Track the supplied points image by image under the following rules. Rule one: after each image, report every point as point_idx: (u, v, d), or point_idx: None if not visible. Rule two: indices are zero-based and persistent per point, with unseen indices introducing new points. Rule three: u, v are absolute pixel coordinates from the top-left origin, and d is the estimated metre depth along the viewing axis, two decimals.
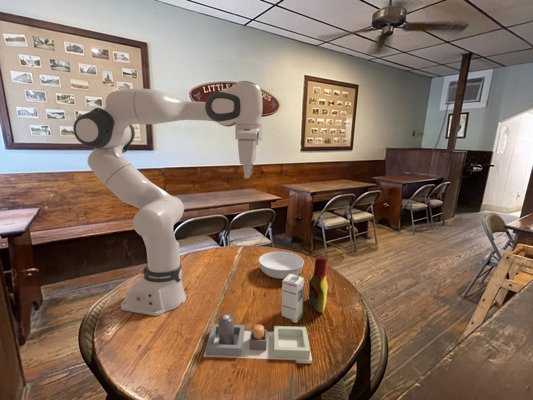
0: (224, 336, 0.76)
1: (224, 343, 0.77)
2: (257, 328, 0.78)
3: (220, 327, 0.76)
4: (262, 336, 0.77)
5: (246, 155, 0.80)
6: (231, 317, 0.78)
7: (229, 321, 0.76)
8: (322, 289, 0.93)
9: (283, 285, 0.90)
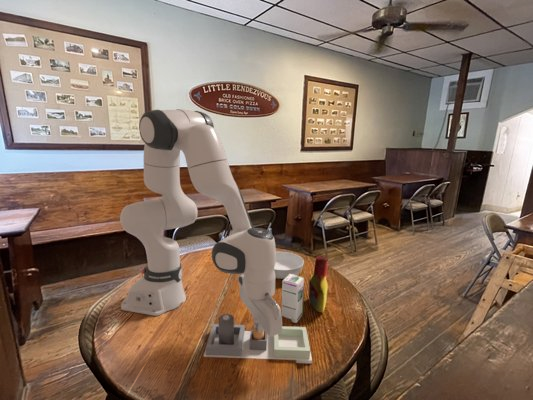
0: (224, 336, 0.76)
1: (224, 343, 0.77)
2: None
3: (220, 327, 0.76)
4: (262, 337, 0.77)
5: None
6: (231, 317, 0.78)
7: (229, 321, 0.76)
8: (322, 289, 0.93)
9: (283, 285, 0.90)
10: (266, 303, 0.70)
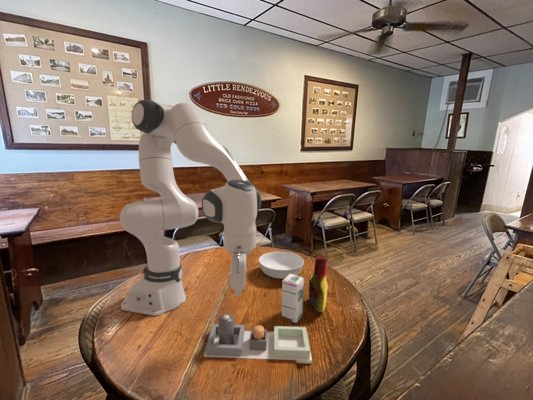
0: (224, 336, 0.76)
1: (224, 343, 0.77)
2: (257, 329, 0.78)
3: (220, 327, 0.76)
4: (262, 337, 0.77)
5: None
6: (231, 317, 0.78)
7: (229, 321, 0.76)
8: (322, 289, 0.93)
9: (283, 285, 0.90)
10: (234, 255, 0.68)
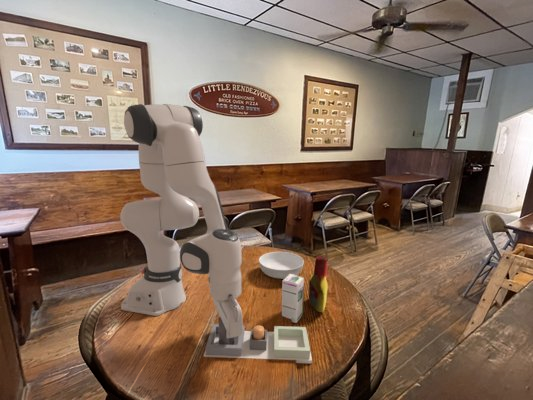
0: (224, 336, 0.76)
1: (224, 343, 0.77)
2: (257, 329, 0.78)
3: (220, 327, 0.76)
4: (262, 337, 0.77)
5: None
6: None
7: None
8: (322, 289, 0.93)
9: (283, 285, 0.90)
10: (228, 304, 0.70)
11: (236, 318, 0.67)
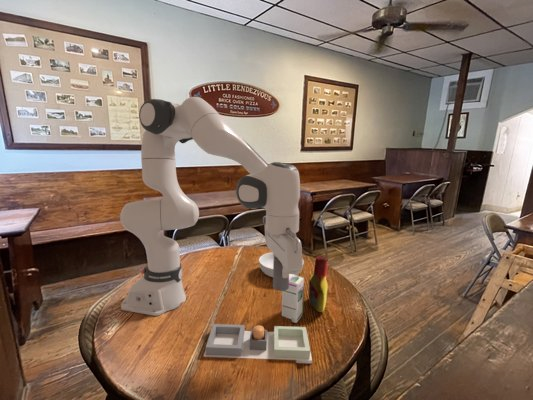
0: (279, 277, 0.72)
1: (279, 285, 0.72)
2: (257, 329, 0.78)
3: (275, 267, 0.72)
4: (262, 337, 0.77)
5: None
6: None
7: None
8: (322, 289, 0.93)
9: None
10: (286, 237, 0.66)
11: (296, 248, 0.62)
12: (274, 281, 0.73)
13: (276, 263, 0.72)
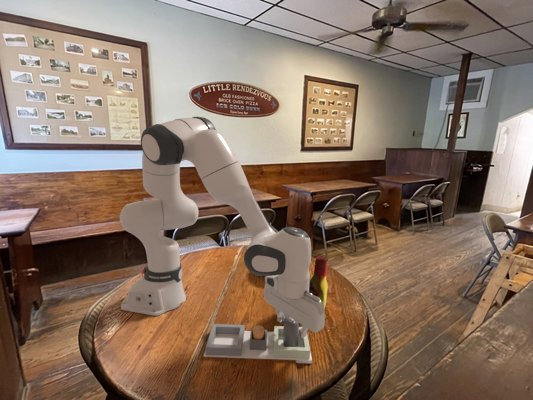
0: (293, 339, 0.76)
1: (293, 345, 0.76)
2: (257, 329, 0.78)
3: (289, 330, 0.76)
4: (262, 337, 0.77)
5: None
6: None
7: (296, 322, 0.77)
8: (322, 289, 0.93)
9: None
10: (308, 301, 0.70)
11: (322, 312, 0.68)
12: (287, 343, 0.77)
13: (290, 326, 0.75)
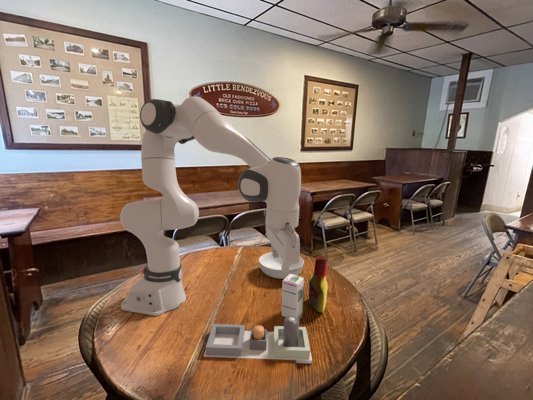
0: (293, 339, 0.76)
1: (293, 345, 0.76)
2: (257, 329, 0.78)
3: (289, 330, 0.76)
4: (262, 337, 0.77)
5: None
6: (295, 318, 0.78)
7: (296, 322, 0.76)
8: (322, 289, 0.93)
9: (283, 285, 0.90)
10: (285, 231, 0.68)
11: (294, 243, 0.64)
12: (287, 343, 0.77)
13: (290, 327, 0.75)
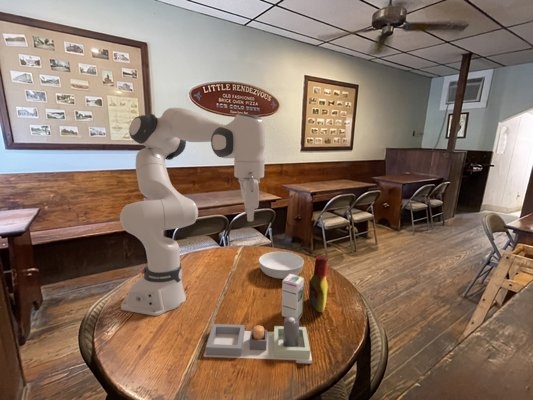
0: (293, 339, 0.76)
1: (293, 345, 0.76)
2: (257, 329, 0.78)
3: (289, 330, 0.76)
4: (262, 337, 0.77)
5: None
6: (295, 318, 0.78)
7: (296, 322, 0.76)
8: (322, 289, 0.93)
9: (283, 285, 0.90)
10: (247, 179, 0.73)
11: (251, 187, 0.69)
12: (287, 343, 0.77)
13: (290, 327, 0.75)
